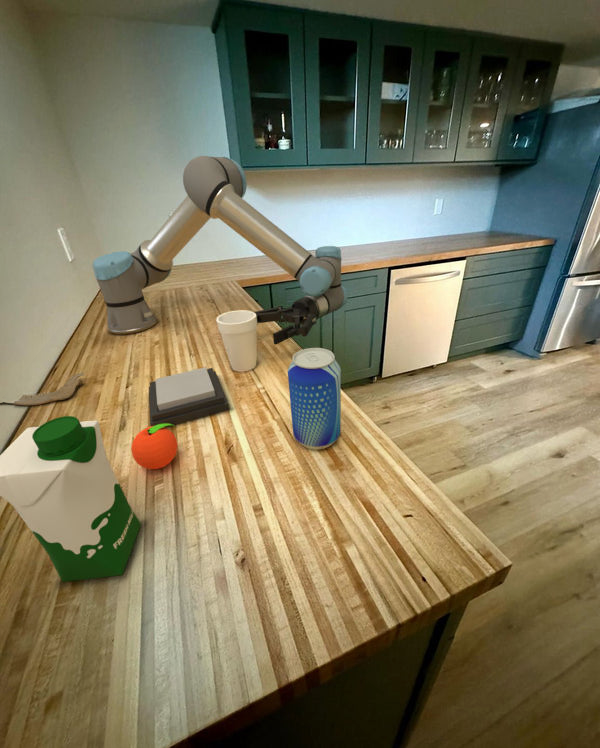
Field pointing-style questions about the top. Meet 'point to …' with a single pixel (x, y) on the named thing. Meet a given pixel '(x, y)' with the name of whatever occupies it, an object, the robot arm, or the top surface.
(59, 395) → the jawbone
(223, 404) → the scale
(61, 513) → the milk carton
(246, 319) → the foam cup
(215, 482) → the top surface
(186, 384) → the scale platform
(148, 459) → the clementine
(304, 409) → the beer can
